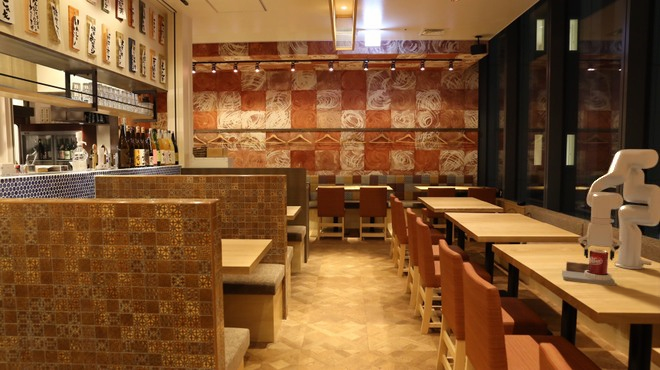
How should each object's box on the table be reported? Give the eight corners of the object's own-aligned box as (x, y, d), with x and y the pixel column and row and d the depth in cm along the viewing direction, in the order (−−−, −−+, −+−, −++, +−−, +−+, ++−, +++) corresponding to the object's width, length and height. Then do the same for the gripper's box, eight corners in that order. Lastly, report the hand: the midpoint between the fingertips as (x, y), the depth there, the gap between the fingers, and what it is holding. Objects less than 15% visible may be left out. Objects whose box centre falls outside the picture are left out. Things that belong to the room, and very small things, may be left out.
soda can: (597, 279, 203) (599, 253, 202) (584, 275, 210) (585, 249, 209) (610, 278, 205) (612, 252, 204) (597, 274, 212) (598, 248, 211)
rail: (604, 275, 215) (604, 265, 215) (604, 276, 214) (605, 265, 214) (566, 271, 222) (566, 261, 222) (566, 272, 220) (566, 262, 220)
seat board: (610, 278, 210) (610, 271, 210) (614, 285, 199) (615, 277, 199) (562, 273, 218) (562, 266, 218) (563, 279, 207) (563, 272, 207)
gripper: (621, 221, 205) (619, 258, 207) (577, 218, 212) (576, 255, 214) (624, 223, 198) (622, 262, 200) (579, 221, 205) (577, 258, 207)
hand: (598, 258), depth 207 cm, fingers open, 9 cm apart
